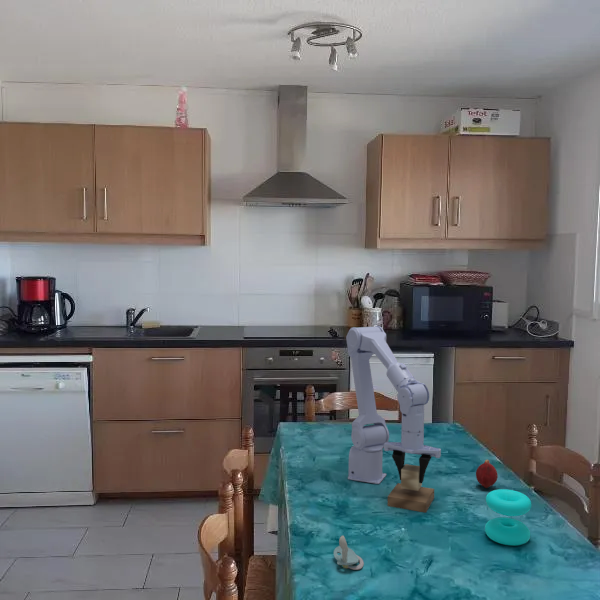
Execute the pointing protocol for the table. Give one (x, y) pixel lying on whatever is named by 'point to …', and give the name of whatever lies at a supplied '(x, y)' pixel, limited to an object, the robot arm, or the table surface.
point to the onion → (486, 474)
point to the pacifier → (347, 556)
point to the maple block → (410, 477)
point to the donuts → (504, 527)
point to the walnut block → (411, 498)
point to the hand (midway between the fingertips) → (411, 480)
